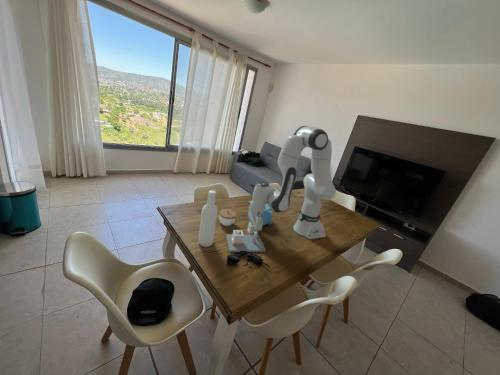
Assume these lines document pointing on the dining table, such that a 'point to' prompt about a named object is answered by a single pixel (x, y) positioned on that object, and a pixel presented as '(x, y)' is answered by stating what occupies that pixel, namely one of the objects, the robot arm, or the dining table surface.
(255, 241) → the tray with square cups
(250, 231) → the sleeve
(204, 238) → the bottle
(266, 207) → the decorative pot
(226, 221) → the lidded jar
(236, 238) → the seated sleeve
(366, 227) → the dining table surface
